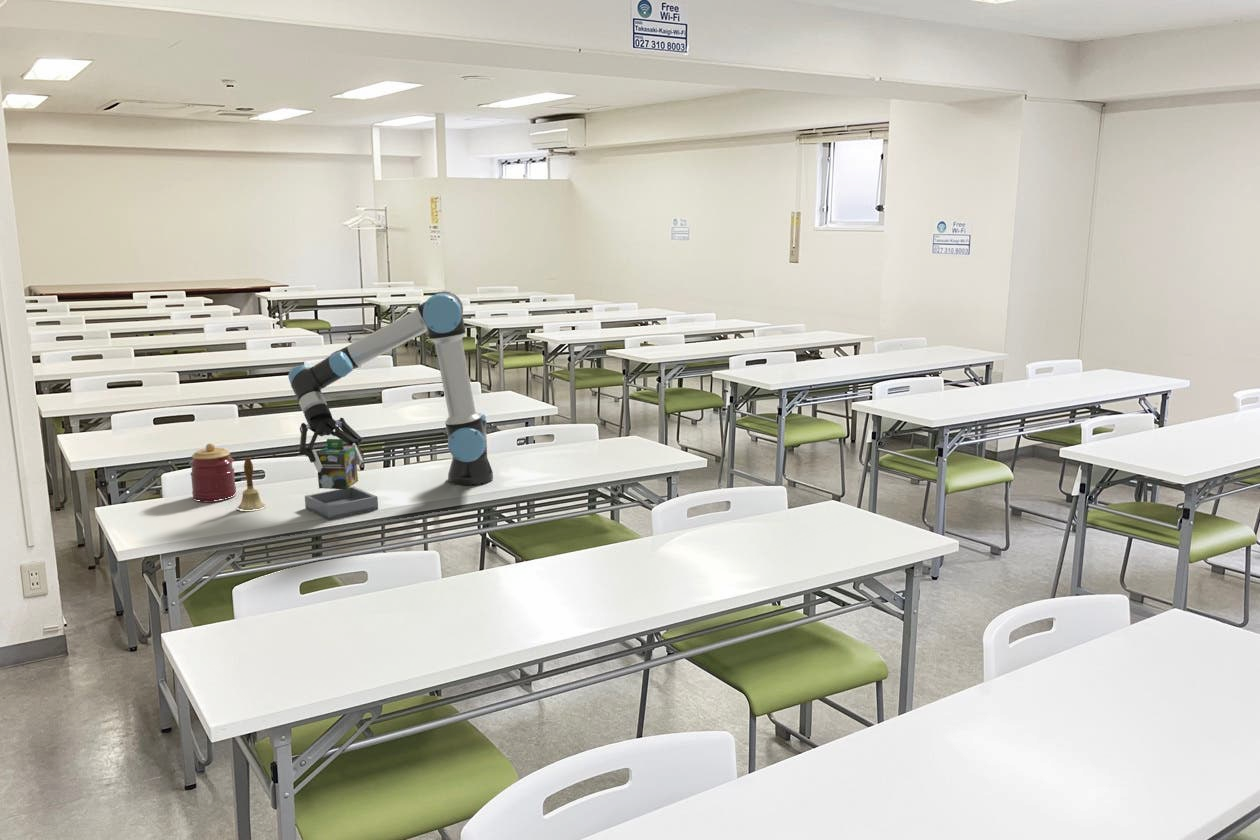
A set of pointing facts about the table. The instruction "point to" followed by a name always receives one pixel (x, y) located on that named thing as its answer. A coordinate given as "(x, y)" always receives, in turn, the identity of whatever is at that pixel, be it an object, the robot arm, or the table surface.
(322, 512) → the tray
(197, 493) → the canister
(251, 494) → the hand bell
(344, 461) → the chalk box
